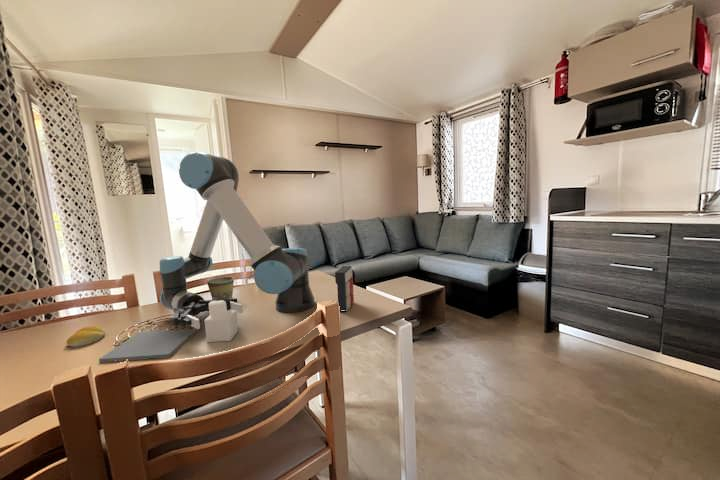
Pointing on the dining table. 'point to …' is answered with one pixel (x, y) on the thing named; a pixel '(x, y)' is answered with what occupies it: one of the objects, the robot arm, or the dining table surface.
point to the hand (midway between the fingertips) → (221, 316)
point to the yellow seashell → (85, 336)
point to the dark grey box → (344, 287)
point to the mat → (150, 345)
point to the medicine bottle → (220, 321)
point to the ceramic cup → (221, 287)
